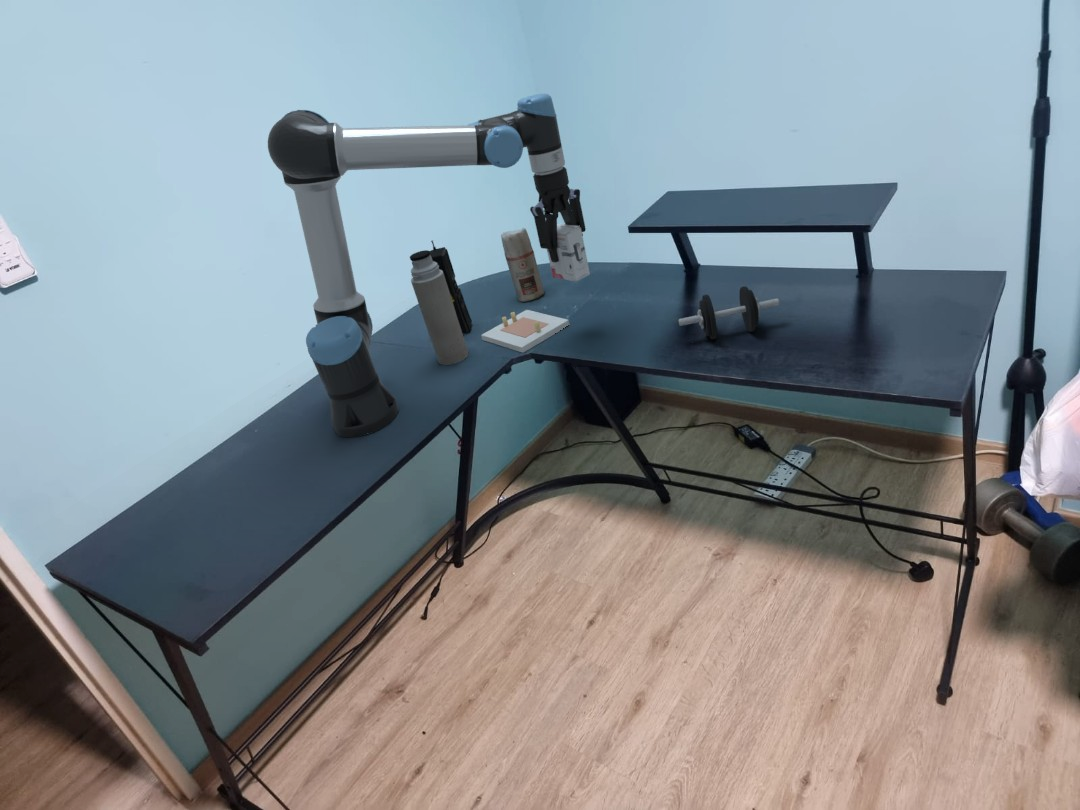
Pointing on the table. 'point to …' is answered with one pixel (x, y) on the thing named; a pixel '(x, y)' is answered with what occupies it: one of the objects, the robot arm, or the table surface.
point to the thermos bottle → (437, 309)
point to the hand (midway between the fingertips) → (569, 268)
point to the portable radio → (452, 287)
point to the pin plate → (524, 330)
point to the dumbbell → (729, 312)
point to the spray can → (522, 264)
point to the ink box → (571, 253)
